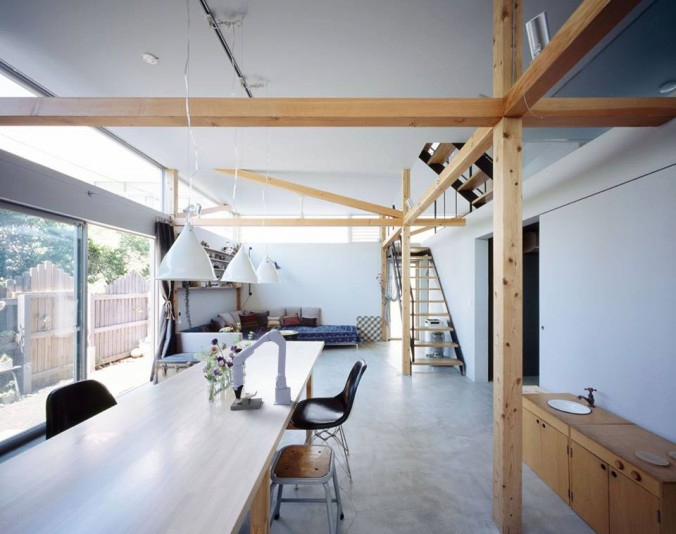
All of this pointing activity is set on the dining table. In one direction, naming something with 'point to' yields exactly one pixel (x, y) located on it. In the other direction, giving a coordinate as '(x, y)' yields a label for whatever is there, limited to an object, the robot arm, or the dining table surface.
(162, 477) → the dining table surface
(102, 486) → the dining table surface
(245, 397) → the block
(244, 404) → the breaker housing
